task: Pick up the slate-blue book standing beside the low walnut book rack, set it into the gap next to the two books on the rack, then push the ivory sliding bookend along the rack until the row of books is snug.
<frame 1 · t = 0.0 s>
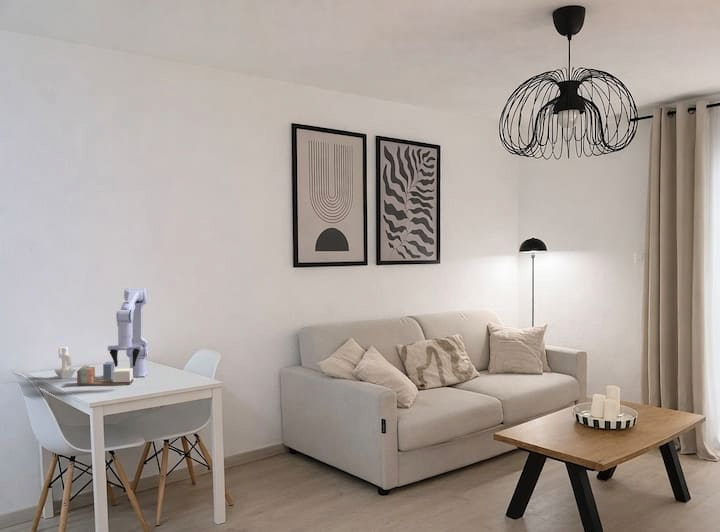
hand: (125, 366, 280), 10 cm above the table, tool pointing down, fingers open, 7 cm apart
bookend: (122, 375, 290), point 4 cm above the table, slide at 5.6 cm
rack: (104, 383, 289), on the table
book: (108, 379, 298), on the table
figurine: (65, 377, 302), on the table
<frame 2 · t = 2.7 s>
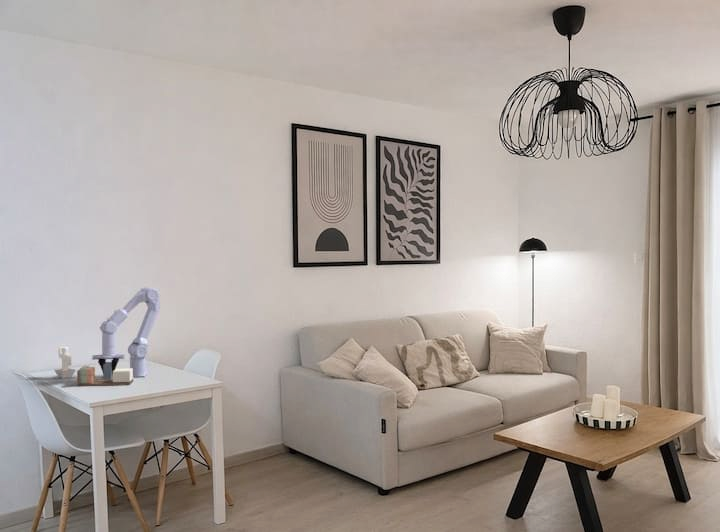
hand: (108, 374, 298), 3 cm above the table, tool pointing down, fingers closed on book, 3 cm apart
book: (108, 379, 298), on the table, touching gripper
everything else where it was.
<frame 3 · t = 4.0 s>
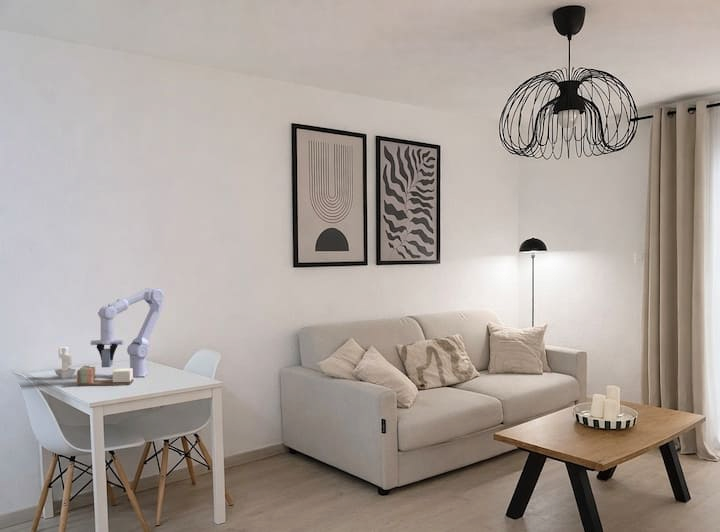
hand: (107, 359, 295), 10 cm above the table, tool pointing down, fingers closed on book, 3 cm apart
book: (107, 366, 295), point 7 cm above the table, touching gripper
everything else where it was.
when the fingers open (5 cm above the table, at t = 5.6 s): book drops 1 cm, resting on rack.
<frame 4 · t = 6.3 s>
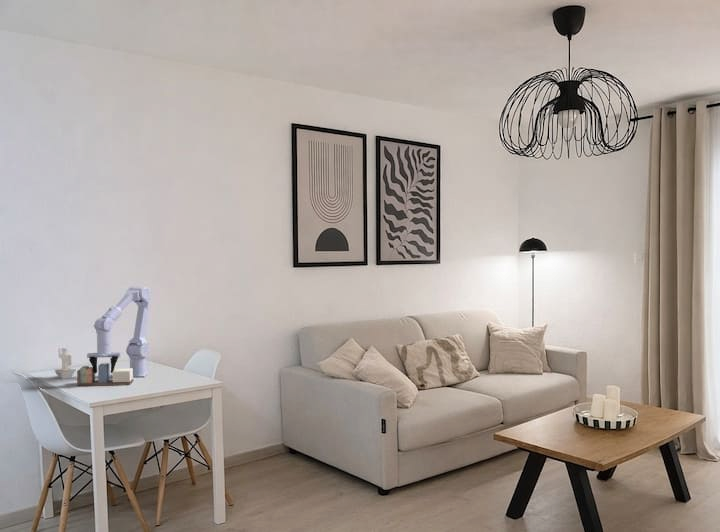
hand: (104, 372, 289), 5 cm above the table, tool pointing down, fingers open, 7 cm apart
book: (104, 381, 289), point 1 cm above the table, touching rack
everything else where it was.
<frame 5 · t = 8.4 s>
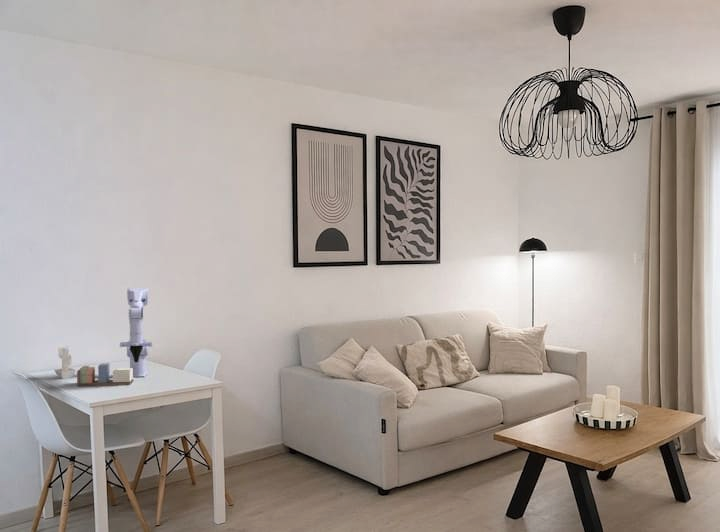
hand: (136, 361, 291), 10 cm above the table, tool pointing down, fingers closed
nothing on the table moved.
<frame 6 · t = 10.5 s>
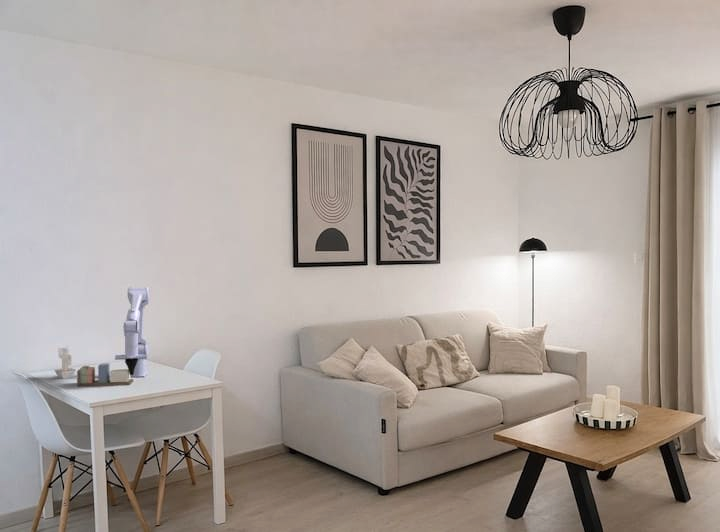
hand: (131, 374, 291), 4 cm above the table, tool pointing down, fingers closed
bookend: (120, 375, 290), point 4 cm above the table, slide at 4.5 cm, touching gripper
everything else where it was.
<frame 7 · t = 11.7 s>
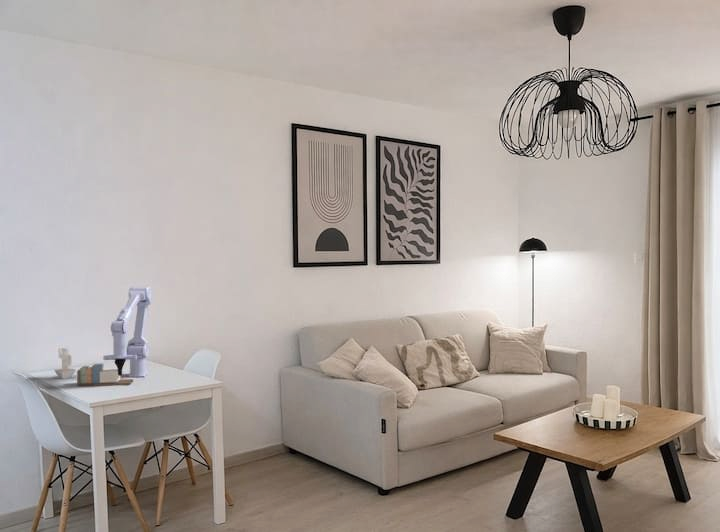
hand: (120, 375, 290), 4 cm above the table, tool pointing down, fingers closed
bookend: (110, 375, 289), point 4 cm above the table, slide at -0.1 cm, touching book, gripper
book: (97, 381, 289), point 1 cm above the table, touching bookend, rack
everything else where it was.
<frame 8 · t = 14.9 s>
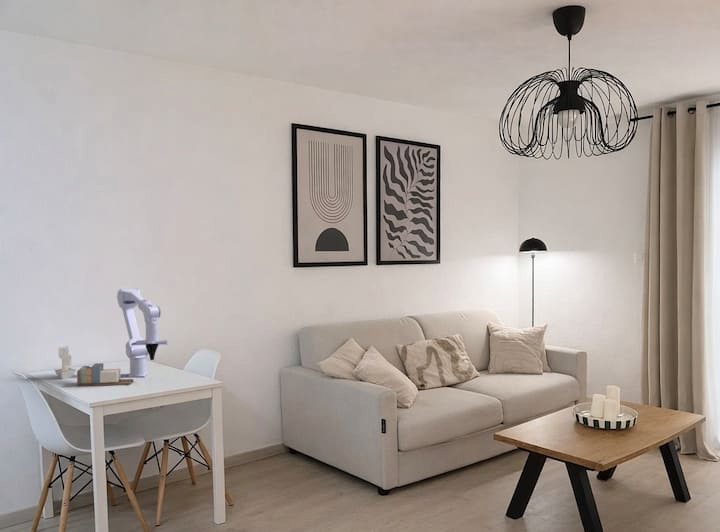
hand: (152, 359, 297), 10 cm above the table, tool pointing down, fingers closed
bookend: (110, 375, 289), point 4 cm above the table, slide at 0.0 cm
book: (97, 381, 289), point 1 cm above the table, touching rack
everything else where it was.
at the end: bookend slide at 0.0 cm; book 0.3 cm from the target spot on the rack, point 1.0 cm above the rack's base; book tilted 0° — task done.
